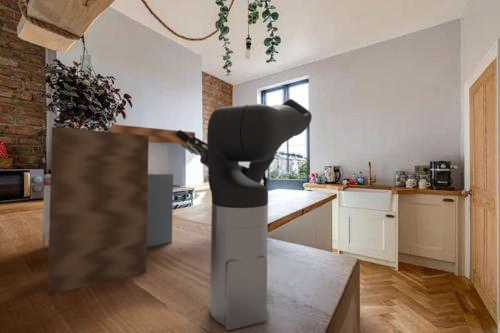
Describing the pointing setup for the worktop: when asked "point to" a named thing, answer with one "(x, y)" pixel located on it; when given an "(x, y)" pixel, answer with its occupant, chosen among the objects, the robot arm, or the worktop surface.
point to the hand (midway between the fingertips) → (175, 133)
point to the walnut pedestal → (96, 207)
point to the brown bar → (153, 134)
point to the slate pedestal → (159, 209)
